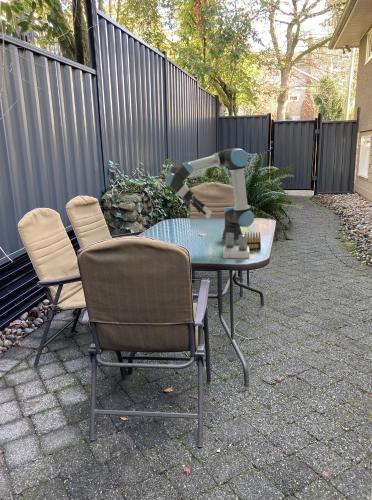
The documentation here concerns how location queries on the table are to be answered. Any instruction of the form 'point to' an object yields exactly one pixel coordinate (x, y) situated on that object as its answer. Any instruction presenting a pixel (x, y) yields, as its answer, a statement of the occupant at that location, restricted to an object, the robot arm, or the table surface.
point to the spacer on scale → (242, 242)
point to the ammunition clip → (254, 241)
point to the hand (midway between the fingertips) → (210, 215)
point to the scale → (235, 252)
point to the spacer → (229, 240)
